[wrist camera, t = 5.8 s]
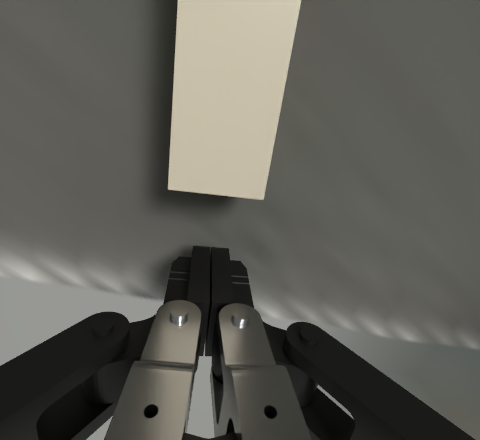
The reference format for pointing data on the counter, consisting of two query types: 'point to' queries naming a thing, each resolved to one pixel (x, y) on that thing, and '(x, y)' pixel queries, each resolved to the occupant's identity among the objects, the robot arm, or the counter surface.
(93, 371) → the robot arm
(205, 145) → the plug rod
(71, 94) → the counter surface
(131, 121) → the counter surface
